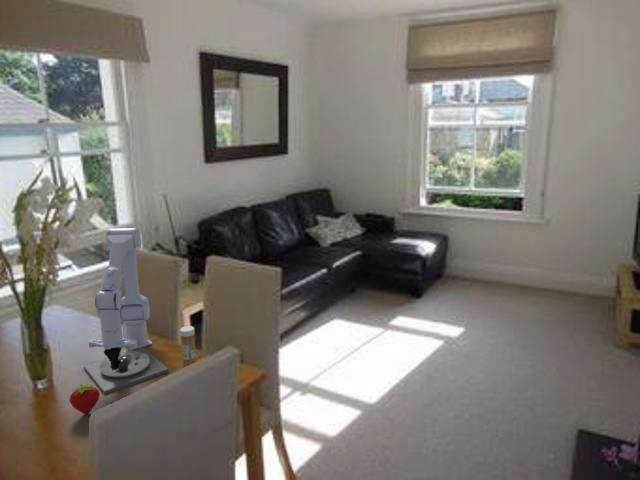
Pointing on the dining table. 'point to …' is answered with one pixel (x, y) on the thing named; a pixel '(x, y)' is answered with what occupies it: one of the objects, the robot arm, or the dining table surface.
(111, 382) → the charcoal board
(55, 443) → the dining table surface
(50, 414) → the dining table surface
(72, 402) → the strawberry
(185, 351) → the sprinkles bottle
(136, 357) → the flange plate
